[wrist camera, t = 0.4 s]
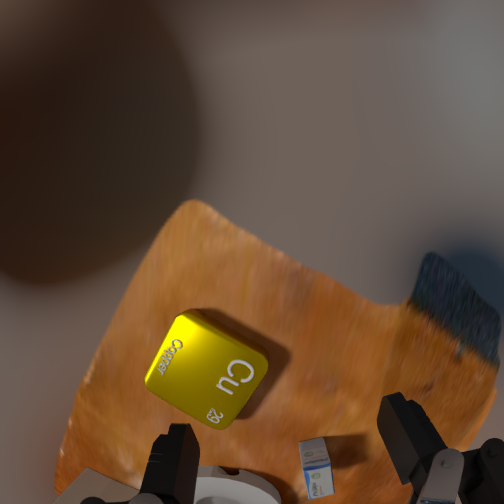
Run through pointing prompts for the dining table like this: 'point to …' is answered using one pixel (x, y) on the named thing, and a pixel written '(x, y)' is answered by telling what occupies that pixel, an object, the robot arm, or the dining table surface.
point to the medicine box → (316, 468)
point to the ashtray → (233, 488)
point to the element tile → (206, 369)
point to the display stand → (95, 489)
